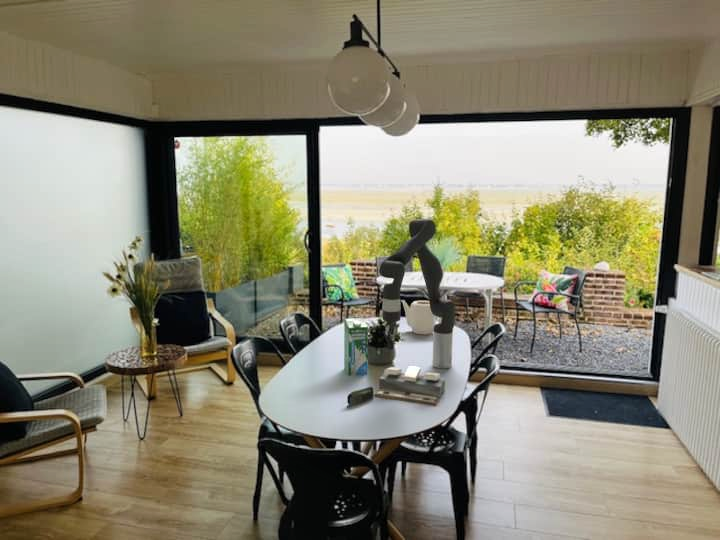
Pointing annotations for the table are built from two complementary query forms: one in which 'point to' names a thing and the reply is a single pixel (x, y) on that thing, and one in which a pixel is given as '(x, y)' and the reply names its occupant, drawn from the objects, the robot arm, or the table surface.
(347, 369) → the milk carton
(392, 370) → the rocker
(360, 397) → the mobile phone
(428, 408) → the table surface
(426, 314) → the watering can
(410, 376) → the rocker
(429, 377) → the cream box
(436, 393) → the switch box
